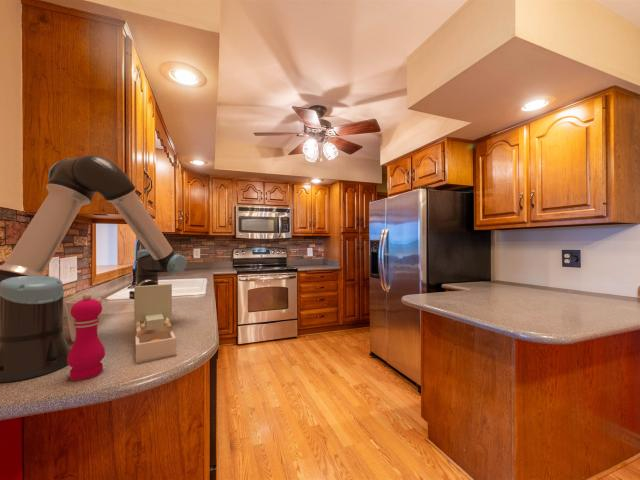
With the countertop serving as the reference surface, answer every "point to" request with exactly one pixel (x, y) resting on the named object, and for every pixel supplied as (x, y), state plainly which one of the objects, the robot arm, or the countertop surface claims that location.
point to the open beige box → (155, 346)
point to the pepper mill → (86, 340)
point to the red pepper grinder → (70, 319)
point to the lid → (153, 305)
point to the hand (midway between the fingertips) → (153, 300)
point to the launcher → (142, 329)
